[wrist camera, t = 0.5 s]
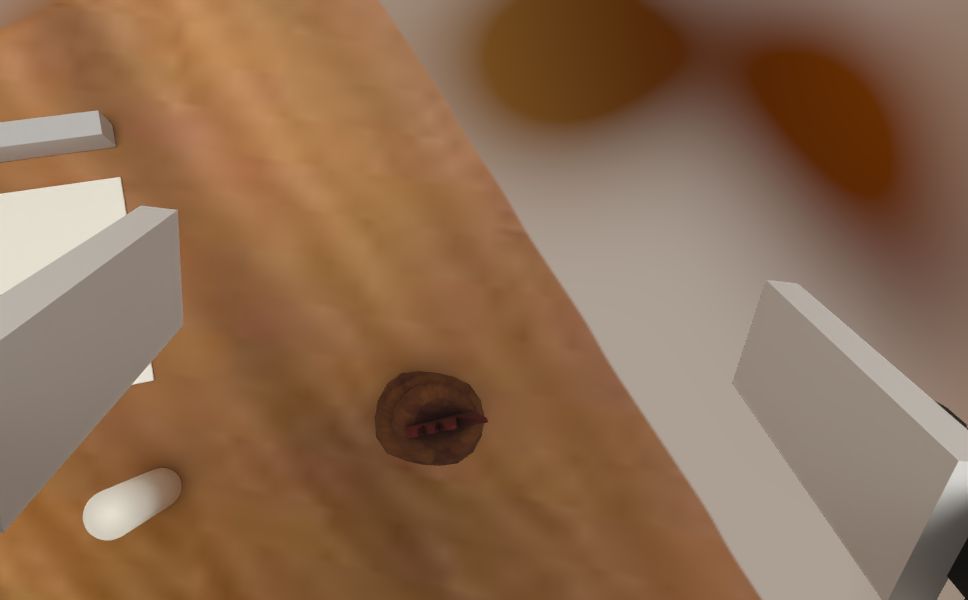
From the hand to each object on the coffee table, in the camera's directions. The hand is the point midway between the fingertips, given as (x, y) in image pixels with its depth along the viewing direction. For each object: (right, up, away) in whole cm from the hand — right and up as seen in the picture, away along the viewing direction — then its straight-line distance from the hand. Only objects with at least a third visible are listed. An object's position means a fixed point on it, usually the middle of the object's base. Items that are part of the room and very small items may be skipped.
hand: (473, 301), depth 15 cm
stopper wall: (-32, +10, +30) cm, 45 cm away
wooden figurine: (-4, -8, +33) cm, 34 cm away
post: (-21, -12, +29) cm, 38 cm away
